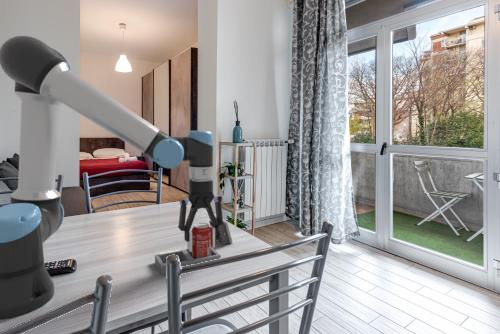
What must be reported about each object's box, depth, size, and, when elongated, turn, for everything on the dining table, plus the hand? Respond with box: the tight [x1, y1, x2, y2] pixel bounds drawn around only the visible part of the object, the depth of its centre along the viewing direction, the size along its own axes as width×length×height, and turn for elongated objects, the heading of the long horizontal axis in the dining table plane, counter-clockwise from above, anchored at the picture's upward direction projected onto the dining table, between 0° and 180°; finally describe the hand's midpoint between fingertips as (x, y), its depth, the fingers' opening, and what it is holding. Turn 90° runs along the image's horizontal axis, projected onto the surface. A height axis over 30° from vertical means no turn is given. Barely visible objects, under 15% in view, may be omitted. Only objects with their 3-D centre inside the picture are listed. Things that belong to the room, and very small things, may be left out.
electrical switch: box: [208, 215, 233, 246], centre depth 118 cm, size 9×5×9 cm, turn 32°
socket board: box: [154, 246, 221, 276], centre depth 100 cm, size 19×9×3 cm, turn 118°
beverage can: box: [191, 222, 212, 259], centre depth 102 cm, size 6×6×12 cm
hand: (201, 248), depth 102 cm, fingers open, 7 cm apart
